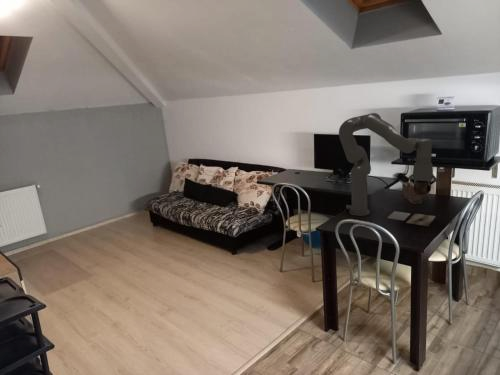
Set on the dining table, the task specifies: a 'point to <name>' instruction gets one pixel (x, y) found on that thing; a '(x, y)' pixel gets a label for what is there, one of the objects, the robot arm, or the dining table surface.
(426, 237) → the dining table surface
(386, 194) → the dining table surface
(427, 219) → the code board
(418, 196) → the stack of blocks
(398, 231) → the dining table surface
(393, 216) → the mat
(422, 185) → the walnut block
